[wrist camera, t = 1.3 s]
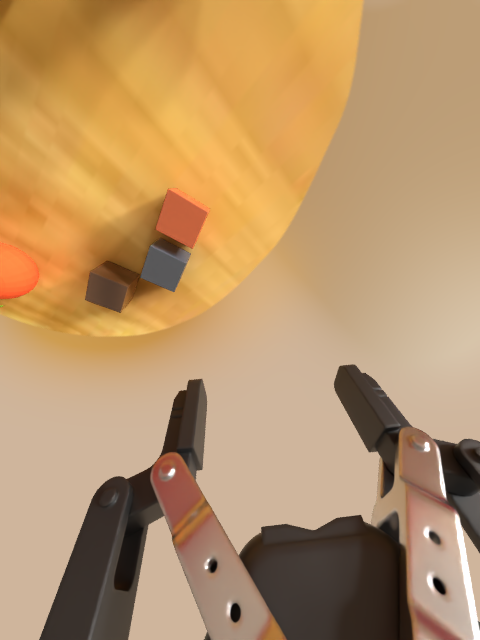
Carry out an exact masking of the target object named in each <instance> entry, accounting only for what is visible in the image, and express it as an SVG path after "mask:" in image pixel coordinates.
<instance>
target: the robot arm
mask: <svg viewBox="0 0 480 640" xmlns="http://www.w3.org/2000/svg"><path fill="white" fill-rule="evenodd" d="M334 388H335V391H336V393H337V395H338V397H339V399H340V401H341V403H342V404H343V406H344V408H345V410H346V411H347V413H348V415H349V417H350V419H351V421H352V422H353V424H354V426H355V428H356V430H357V431H358V433H359V435H360V437H361V439H362V440H363V442H364V444H365V446H366V448H367V449H368V451H369V452H376V451H378V453H379V455H380V456H381V457H380V460H379V473H378V486H377V499H376V503H375V506H374V509H373V513H372V519H371V524H368V523H365V522H364V521H363V519H362V517H361V515H357V516H349V517H340V518H336V519H334V520H332V521H331V522H329V523H327V524H325V525H324V526H322V527H320V528H318V529H317V530H308V529H305V528H300V527H296V526H292V525H288V524H282V525H274V526H265V527H261V533H259V534H258V535H256V536H255V537H253V538H252V539H251V540H250V541H249V542H248V543H247V544H246V545H245V547H244V548H243V549H242V551H241V552H240V554H239V555H238V554H237V552H236V550H235V548H234V547H233V545H232V543H231V542H230V540H229V538H228V536H227V534H226V533H225V531H224V529H223V527H222V526H221V524H220V522H219V520H218V519H217V517H216V515H215V514H214V512H213V510H212V508H211V506H210V505H209V503H208V502H207V500H206V499H205V497H204V495H203V493H202V491H201V490H200V488H199V486H198V484H197V483H196V471H197V470H202V467H203V453H204V439H205V425H206V411H207V396H206V392H205V388H204V384H203V380H202V379H196V380H189V381H188V385H187V390H184V391H179V393H178V395H177V396H176V397H175V399H174V402H173V407H172V411H171V416H170V420H169V424H168V429H167V433H166V437H165V442H164V446H163V450H162V453H161V455H160V457H159V458H158V460H157V461H156V462H155V463H154V464H153V465H152V466H151V467H150V468H148V469H147V470H145V471H143V472H141V473H139V474H137V475H135V476H132V477H130V478H128V479H125V478H124V477H120V476H118V477H113V478H111V479H109V480H108V481H106V482H105V483H104V484H103V485H102V486H101V487H100V488H99V489H98V490H97V492H96V493H95V495H94V496H93V498H92V501H91V503H90V506H89V508H88V511H87V514H86V516H85V519H84V522H83V525H82V528H81V530H80V533H79V535H78V538H77V541H76V544H75V546H74V549H73V551H72V554H71V557H70V560H69V562H68V565H67V567H66V570H65V573H64V576H63V578H62V581H61V583H60V586H59V589H58V592H57V594H56V597H55V599H54V602H53V605H52V608H51V610H50V613H49V615H48V618H47V621H46V624H45V626H44V629H43V631H42V634H41V637H40V639H39V640H128V637H129V630H130V626H131V620H132V614H133V609H134V603H135V597H136V591H137V586H138V581H139V575H140V569H141V564H142V558H143V552H144V547H145V541H146V535H147V530H148V525H149V524H150V523H152V522H154V521H156V520H158V519H159V518H161V517H163V516H165V519H166V521H167V524H168V526H169V529H170V531H171V534H172V541H173V545H174V548H175V550H176V553H177V556H178V558H179V560H180V563H181V566H182V568H183V571H184V573H185V576H186V578H187V581H188V583H189V586H190V588H191V591H192V594H193V596H194V598H195V601H196V604H197V606H198V609H199V611H200V614H201V616H202V618H203V621H204V623H205V626H206V629H207V634H206V636H205V639H204V640H480V622H479V621H478V620H477V614H476V609H475V603H474V597H473V592H472V586H471V581H470V575H469V569H468V563H467V557H466V551H465V546H464V540H463V534H462V529H461V525H462V527H463V528H464V530H465V531H466V533H467V534H468V536H469V537H470V539H471V540H472V542H473V544H474V545H475V547H476V548H477V549H478V551H479V553H480V442H479V441H476V440H472V439H464V440H462V441H461V442H459V443H458V444H454V443H449V442H445V441H440V440H436V439H432V438H431V437H430V436H429V435H427V434H426V433H425V432H423V431H421V430H419V429H417V428H414V427H412V426H411V425H410V424H409V422H408V421H407V420H406V419H405V417H404V416H403V415H402V414H401V412H400V411H399V410H398V409H397V407H396V406H395V405H394V404H393V402H392V401H391V400H390V399H389V397H387V395H386V393H385V392H384V391H383V390H381V387H380V386H379V385H378V383H377V382H376V381H375V380H374V379H373V378H372V377H370V376H369V375H367V374H366V373H361V372H360V370H359V369H358V368H357V366H355V365H343V366H340V367H339V369H338V372H337V375H336V378H335V382H334Z"/></svg>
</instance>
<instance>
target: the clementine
mask: <svg viewBox="0 0 480 640" xmlns="http://www.w3.org/2000/svg"><path fill="white" fill-rule="evenodd" d="M38 279H39V273H38V269H37V266H36V264H35V263H34V261H33V260H32V259H31V258H30V257H29V256H28V255H27V254H25V253H24V252H22V251H21V250H19V249H17V248H15V247H12V246H10V245H7V244H4V243H0V299H10V298H16V297H19V296H22V295H25V294H27V293H29V292H30V291H31V290H32V289H33V288H34V287H35V286H36V284H37V282H38ZM0 307H1V306H0Z"/></svg>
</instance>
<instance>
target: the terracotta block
mask: <svg viewBox="0 0 480 640" xmlns="http://www.w3.org/2000/svg"><path fill="white" fill-rule="evenodd" d="M209 211H210V208H208V207H206V206H205V205H203V204H201V203H200V202H198V201H197V200H195V199H193V198H192V197H190V196H188V195H187V194H185V193H183V192H182V191H180V190H178V189H168V191H167V194H166V197H165V200H164V203H163V207H162V210H161V213H160V216H159V219H158V222H157V226H156V230H157V231H159V232H161V233H163V234H165V235H167V236H169V237H171V238H173V239H174V240H176V241H178V242H180V243H182V244H184V245H186V246H188V247H190V248H192V249H193V247H194V245H195V243H196V241H197V239H198V236H199V234H200V232H201V229H202V227H203V225H204V222H205V220H206V218H207V215H208V213H209Z"/></svg>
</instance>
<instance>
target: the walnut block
mask: <svg viewBox="0 0 480 640" xmlns="http://www.w3.org/2000/svg"><path fill="white" fill-rule="evenodd" d="M138 279H139V274H137V273H134V272H132V271H130V270H128V269H125V268H123V267H121V266H118V265H116V264H114V263H111V262H109V261H106V262H105V263H103V264H101V265H100V266H98V267H97V268H95V269H94V270H92V271H90V275H89V281H88V286H87V292H86V298H85V300H87V301H89V302H92V303H95V304H97V305H100V306H103V307H106V308H108V309H111V310H114V311H117V312H119V313H121V312H122V310H123V309H124V308H125V307H126V305H127V304H128V303H129V302H130V301H131V299H132V298H133V295H134V291H135V288H136V285H137V282H138Z"/></svg>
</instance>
